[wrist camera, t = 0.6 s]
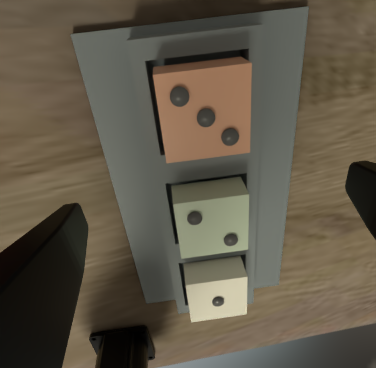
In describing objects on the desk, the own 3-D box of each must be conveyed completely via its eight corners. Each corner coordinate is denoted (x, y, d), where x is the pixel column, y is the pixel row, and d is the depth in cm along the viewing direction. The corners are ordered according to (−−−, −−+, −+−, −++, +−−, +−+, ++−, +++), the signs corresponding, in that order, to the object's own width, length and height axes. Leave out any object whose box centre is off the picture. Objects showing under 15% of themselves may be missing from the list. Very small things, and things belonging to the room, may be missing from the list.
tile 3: (240, 137, 19) (251, 154, 17) (165, 147, 19) (166, 165, 17) (240, 56, 16) (252, 63, 14) (153, 67, 16) (152, 75, 14)
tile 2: (240, 229, 23) (248, 251, 21) (179, 237, 23) (181, 260, 21) (240, 176, 20) (250, 195, 18) (171, 185, 20) (173, 206, 18)
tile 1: (240, 292, 27) (247, 316, 25) (188, 299, 27) (191, 324, 25) (240, 255, 25) (248, 278, 23) (183, 263, 25) (185, 287, 22)
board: (276, 281, 30) (285, 301, 28) (146, 299, 30) (145, 321, 28) (305, 6, 17) (326, 5, 15) (72, 33, 17) (60, 37, 15)
